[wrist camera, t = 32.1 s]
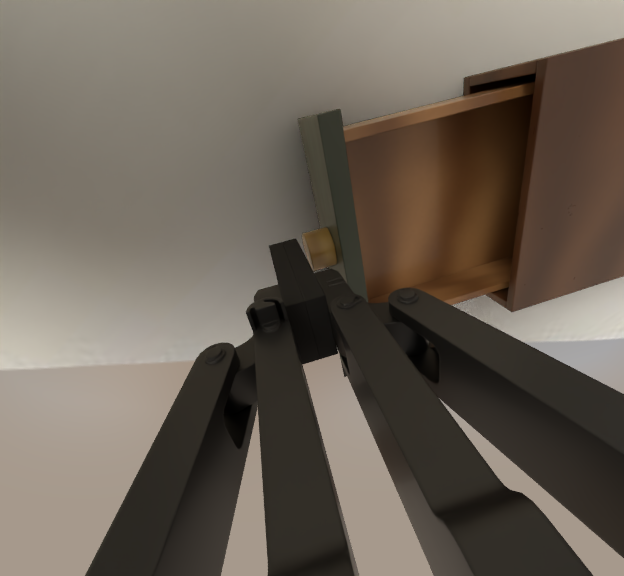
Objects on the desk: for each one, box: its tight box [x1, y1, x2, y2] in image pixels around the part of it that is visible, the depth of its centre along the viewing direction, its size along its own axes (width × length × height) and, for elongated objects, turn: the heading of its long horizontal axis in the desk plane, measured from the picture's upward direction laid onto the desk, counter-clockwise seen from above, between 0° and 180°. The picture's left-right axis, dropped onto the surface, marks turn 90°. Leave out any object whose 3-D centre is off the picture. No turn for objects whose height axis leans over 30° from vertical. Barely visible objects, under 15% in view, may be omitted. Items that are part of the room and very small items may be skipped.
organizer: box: [464, 38, 624, 312], centre depth 18 cm, size 15×13×5 cm
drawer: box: [298, 78, 535, 305], centre depth 18 cm, size 17×13×5 cm
